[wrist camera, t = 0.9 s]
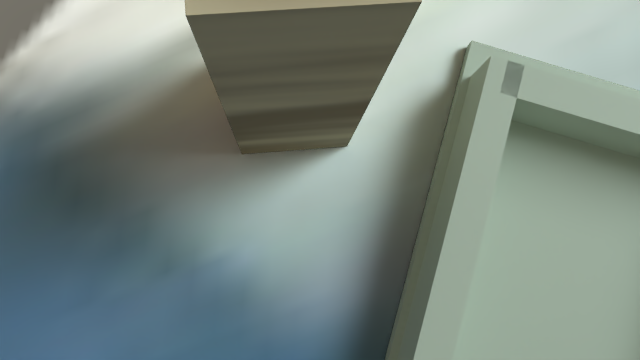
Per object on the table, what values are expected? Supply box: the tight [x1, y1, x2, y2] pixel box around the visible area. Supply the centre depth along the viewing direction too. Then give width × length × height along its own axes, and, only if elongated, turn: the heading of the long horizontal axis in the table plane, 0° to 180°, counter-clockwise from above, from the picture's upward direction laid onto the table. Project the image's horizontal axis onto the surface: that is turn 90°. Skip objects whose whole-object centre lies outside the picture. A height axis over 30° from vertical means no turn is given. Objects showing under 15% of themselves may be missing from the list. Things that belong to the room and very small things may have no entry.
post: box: [185, 0, 422, 154], centre depth 17 cm, size 4×4×13 cm
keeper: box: [385, 41, 640, 360], centre depth 22 cm, size 14×12×3 cm
